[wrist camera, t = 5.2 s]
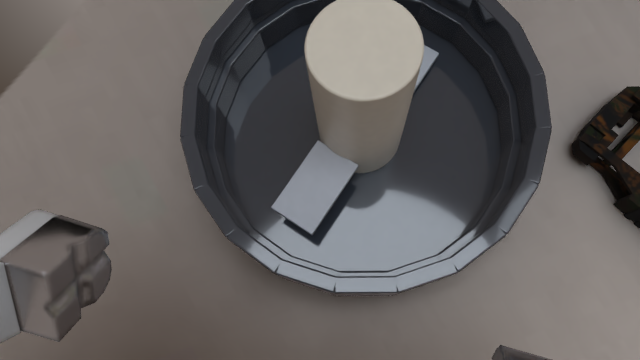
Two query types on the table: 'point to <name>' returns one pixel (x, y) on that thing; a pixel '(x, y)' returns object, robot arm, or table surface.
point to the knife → (626, 183)
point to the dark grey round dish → (386, 182)
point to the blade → (354, 99)
